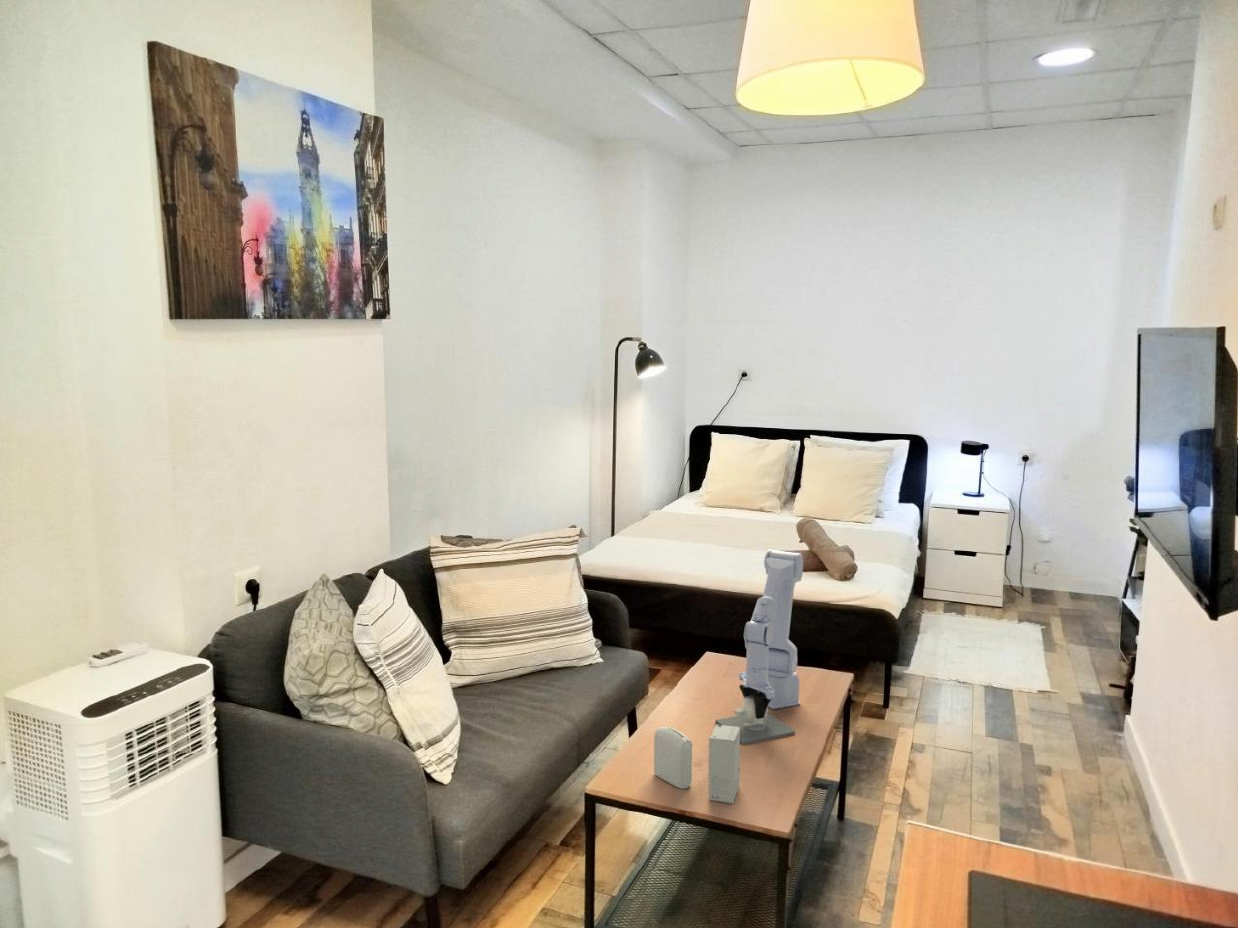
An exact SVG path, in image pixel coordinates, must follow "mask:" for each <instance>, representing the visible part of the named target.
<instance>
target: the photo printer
mask: <svg viewBox="0 0 1238 928" xmlns="http://www.w3.org/2000/svg"><path fill="white" fill-rule="evenodd" d="M653 739H654V742H653V750H654V753H653V755H654V756H653V760H654V761H653V766H654V767H653V772H654V775H656V776H657V777H658V778H660V779H662V780H663V781H665V782H667V783H668V784H671V785H672V786H673V787H676V788H678V789H683V790H684V789H687V788H689V787H690V786H691V784H692V779H693V778H692V777H693V776H692V774H693V773H692V769H693V763H692V762H693V744H692V741H691V740H690V739H689V737H688V736H686V735H685V734H684V733H682V732H681V731H680V730H678V729H676V728H673V727H670V726H666V725H665V726H664V725H663V726H660V727H657V729H656V730H655V732H654V738H653Z"/></svg>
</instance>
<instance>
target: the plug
mask: <svg viewBox="0 0 1238 928" xmlns="http://www.w3.org/2000/svg"><path fill="white" fill-rule="evenodd" d="M768 707H769V706H768ZM768 707H767V709H766V712H765V716H764V718H760V719H757V718H756V714H755V703H754V700H753V697H752V695H751V696H746V697H743V699H742V707H740V708H739V707H738V708H735V709H734V710H733V713H734V714H735V716H740V715H743V722H745V723H748V724H755V723H760V722H765V721H767V713H768V712H769V710H768V709H769V708H768Z"/></svg>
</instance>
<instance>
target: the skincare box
mask: <svg viewBox="0 0 1238 928" xmlns="http://www.w3.org/2000/svg"><path fill="white" fill-rule="evenodd" d="M711 732H712V733H711V735H710V736H709V738H708V800H709V801H716V802H721V803H725V804H730V805H733V804H734V803H735V797H736V796H737V793H738V791H739V789H740V762H741V761H740V758H741V757H740V754H741V753H740V752H741V748H740V747H741V746H740V727H734V726H725V725H718V724H716V725H715V726H714V729H712V731H711Z"/></svg>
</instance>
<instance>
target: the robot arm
mask: <svg viewBox="0 0 1238 928" xmlns="http://www.w3.org/2000/svg"><path fill="white" fill-rule="evenodd" d="M763 564H764V569H765V574H766V575H767V576H766V581H765V586H764V590H763V596H762V597H759V598H758V599H757V600H756V604H755V607H754V610H753V612H752V616H751V619H750V621H747V622H746V623H745V626H744V630H743V639H744V647H745V649H746V661H745V663H746V665H745V671H740V672H738V680H740V681H743V682H742V683H741V684H739V690H740V692H741V693H742V696H743V698H744V697H746V696H751V695H752V697H753V700H754V703H755V714H756V718H757V719H760V718H764V716H765V712H766V709H767V707H769V708H770V709H772V710H776V709H782V708H788V707H790V706H791V707H792V706H797V705H801V702H800V700H799V699H800V698H799V697H800V678H799V675H798V673H797V672H796V670H797V668H798V648H797V646H796V645H795V644H794V643H793V642H792V641H791V640H790V639H789V637H790V631H791V630H790V628H791V620H792V610H793V609H792V608H793V601H794V590H795V586H796V583H798V582H802V577H803V570H804V558H803V555H802V553H801V552H788V551H782V550H775V549H771V548H770V549H768V550H767V551H766V552H765V556H764V561H763Z"/></svg>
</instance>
